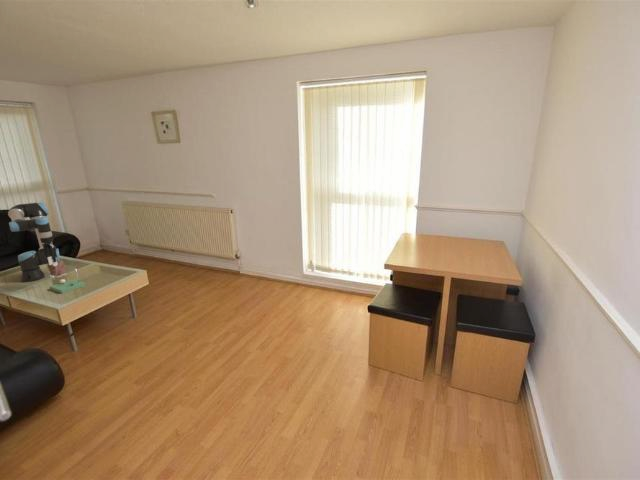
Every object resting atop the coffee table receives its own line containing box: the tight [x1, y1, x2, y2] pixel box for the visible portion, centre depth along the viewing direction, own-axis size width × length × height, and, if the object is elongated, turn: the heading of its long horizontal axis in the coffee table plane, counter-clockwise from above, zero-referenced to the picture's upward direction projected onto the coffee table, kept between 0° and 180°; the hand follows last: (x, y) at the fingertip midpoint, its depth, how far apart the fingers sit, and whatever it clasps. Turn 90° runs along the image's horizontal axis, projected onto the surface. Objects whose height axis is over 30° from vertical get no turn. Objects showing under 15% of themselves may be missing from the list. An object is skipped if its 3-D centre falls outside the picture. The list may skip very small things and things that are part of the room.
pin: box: [74, 265, 81, 282], centre depth 247 cm, size 4×1×14 cm, turn 63°
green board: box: [48, 279, 86, 294], centre depth 246 cm, size 18×16×2 cm
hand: (53, 265), depth 248 cm, fingers open, 6 cm apart
